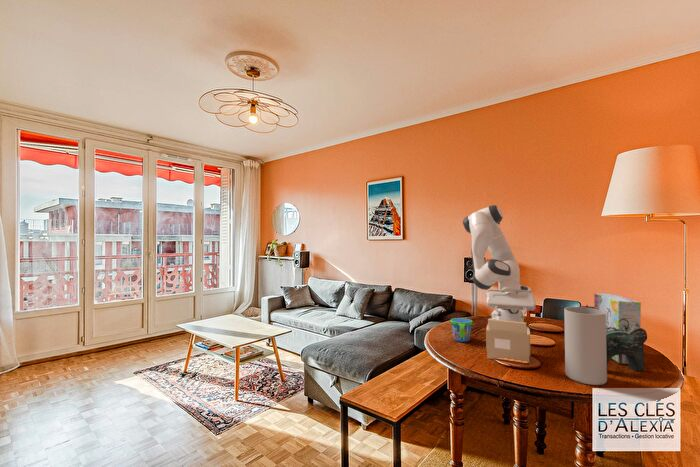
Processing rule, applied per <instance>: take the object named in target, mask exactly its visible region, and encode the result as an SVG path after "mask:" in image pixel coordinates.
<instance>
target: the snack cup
mask: <svg viewBox="0 0 700 467" xmlns="http://www.w3.org/2000/svg"><path fill="white" fill-rule="evenodd" d="M473 323H474V322H473V320H472V319H469V318H464V317H463V318H462V317H455V318H451V319H450V324H451V329H452V334H453V339H454V341H456V342H459V343H460V342H461V343H466V342H469V341H470V340H471V333H472V326H473Z"/></svg>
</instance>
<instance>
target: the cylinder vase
mask: <svg viewBox="0 0 700 467" xmlns="http://www.w3.org/2000/svg"><path fill="white" fill-rule="evenodd" d="M563 311H564V312H563V314H564V315H563V316H564V321H563V322H564V370H565V372H564V373H565V375H566V377H567V378H569V379H570V380H572V381H574V382H577V383H580V384H583V385H591V386H601V385H605V384H606V383H607V382H608V366H607V353H606V312H604V311H602V310H598V309H592V308H584V307H579V306H567V307H564V310H563Z"/></svg>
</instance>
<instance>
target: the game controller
mask: <svg viewBox="0 0 700 467" xmlns="http://www.w3.org/2000/svg"><path fill="white" fill-rule="evenodd" d="M621 320H626V319H620V320H619V321H618V322H620V321H621ZM626 321H627V320H626ZM627 323H628V326H627V325H623V326H624V327H625V328H624V329H623V330H618V329H615V328H611V327H609V328H606V329H610V328H611V329H615V330H609V331H606V353H607V367H608V365H609V361H610V360H612V357H613V356H615V355H625V356H626V357H627V359H628V362H629V364H628V365H629V366H628V367H629V369H631V370H632V371H635V372H645V351H644V344H645V342H646V341H648V332H647V331H646V329H644V328H642V327H641V328H640V326H639V325H638V323H636V325H635V326H629V322H628V321H627Z"/></svg>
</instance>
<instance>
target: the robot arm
mask: <svg viewBox="0 0 700 467" xmlns="http://www.w3.org/2000/svg"><path fill="white" fill-rule="evenodd" d="M502 220H503V211H502V210H501V208H500V207H499V206H497V205H495V204H493V205H489V206H487V207H484V208H482V209H479V210H477V211H474V212H472V213H471V214H470V215H467V216H466V217H464V218H463V220H462V225H463V229H464V230H465V231H466V232H467V233H469V234H470V235H471V249H470V250H471V253H470V254H471V261H472V269H473V274H472V282H473V284H474V285H475V287H477V288H478V289H481V290H487V291H486V292H485V293H486V294H485V295H486V307H487V308H489V309H494V310H493V311H492V312H491V313H490V317H491V318H490V319H494V320H505V321H515V322H524V319H525V315H526V314H527V312H528V311H531V312H533V311H535V310H536V309H537V308H536V305H537V304H536V299H535V296H534V294H533V293H532V288H531V287H529V286H527V285H526V286H525V285H523V284H521V281H520V280H521V277H520V276H521V275H520V273H521V270H520V266H519V263H518V262H517V260H516V258H515V255H514V254H513V251H512V249H511V247H510V245H509V243H508V241H507V239H506V236H505V235H504V233H503V230H502V229H501V227H500V226H499V225H501V222H502ZM487 250H488V251H489V253H490V255H491V259H489V260H488V261H487V262H485V261H486V260H485V255H486V252H487ZM496 283H498V289H494V290H493V289H491V287H493V286H494V284H496Z"/></svg>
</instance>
